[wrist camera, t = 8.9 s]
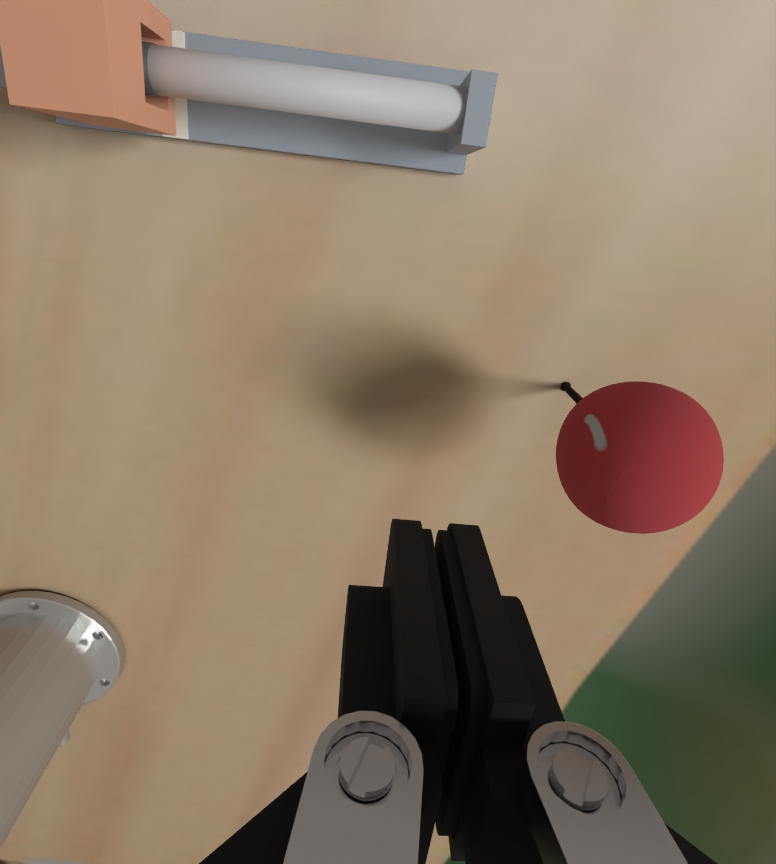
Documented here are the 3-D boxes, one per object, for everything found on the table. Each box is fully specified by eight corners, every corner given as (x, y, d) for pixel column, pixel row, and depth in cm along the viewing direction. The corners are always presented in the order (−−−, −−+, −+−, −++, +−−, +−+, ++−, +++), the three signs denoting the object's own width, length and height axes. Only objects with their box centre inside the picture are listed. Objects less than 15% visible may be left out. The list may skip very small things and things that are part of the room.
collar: (176, 136, 28) (113, 117, 21) (98, 126, 28) (9, 104, 21) (171, 20, 26) (99, -41, 19) (87, 9, 26) (-16, -58, 19)
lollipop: (625, 329, 36) (778, 412, 22) (610, 432, 39) (736, 559, 26) (512, 334, 36) (598, 420, 22) (506, 436, 39) (578, 567, 26)
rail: (461, 174, 32) (482, 170, 26) (65, 125, 30) (-12, 107, 24) (475, 76, 30) (502, 46, 24) (53, 18, 28) (-35, -30, 22)
